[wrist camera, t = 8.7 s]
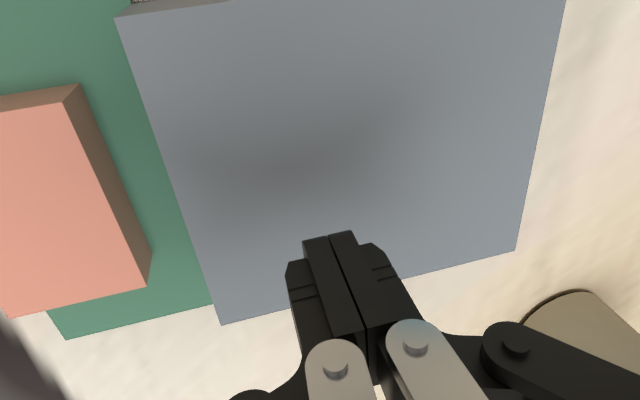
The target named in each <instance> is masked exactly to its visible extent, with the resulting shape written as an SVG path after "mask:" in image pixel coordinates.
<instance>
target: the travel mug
mask: <svg viewBox="0 0 640 400" xmlns="http://www.w3.org/2000/svg"><path fill="white" fill-rule="evenodd" d="M523 325H525V326H527V327H530V328H532V329H534V330H537V331H539V332H541V333H543V334H546V335H548V336H550V337H553V338H555V339H557V340H560V341H562V342H564V343H567V344H569V345H571V346H574V347H576V348H578V349H580V350H583V351H585V352H587V353H590V354H592V355H594V356H597V357H599V358H601V359H604V360H606V361H608V362H611V363H613V364H615V365H617V366H620V367H622V368H624V369H627V370H629V371H631V372H634V373H636V374H638V375H640V334H639V333H638V332H637V331H636V330H634V329H633V328H632V327H631V326H630V325H629V324H628V323H627V322H625V321H624V320H623V319H622V318H621V317H620V316H619V315H617V314H616V313H615V312H614V311H613V310H612V309H611V308H610V307H608V306H607V305H606V304H605V303H604V302H603V301H602V300H601V299H599V298H598V297H597V296H596V295H594V294H592V293H589V292H575V293H570V294H567V295H564V296H561V297H558V298H556V299H554V300H552V301H550V302H548V303H546V304H544V305H543V306H541V307H540V308H539V309H538V310H536V311H535V312H534V313H533V314H532V315H530V316H529V317H528V319H527V320H526V321H525V323H524V324H523Z"/></svg>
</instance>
